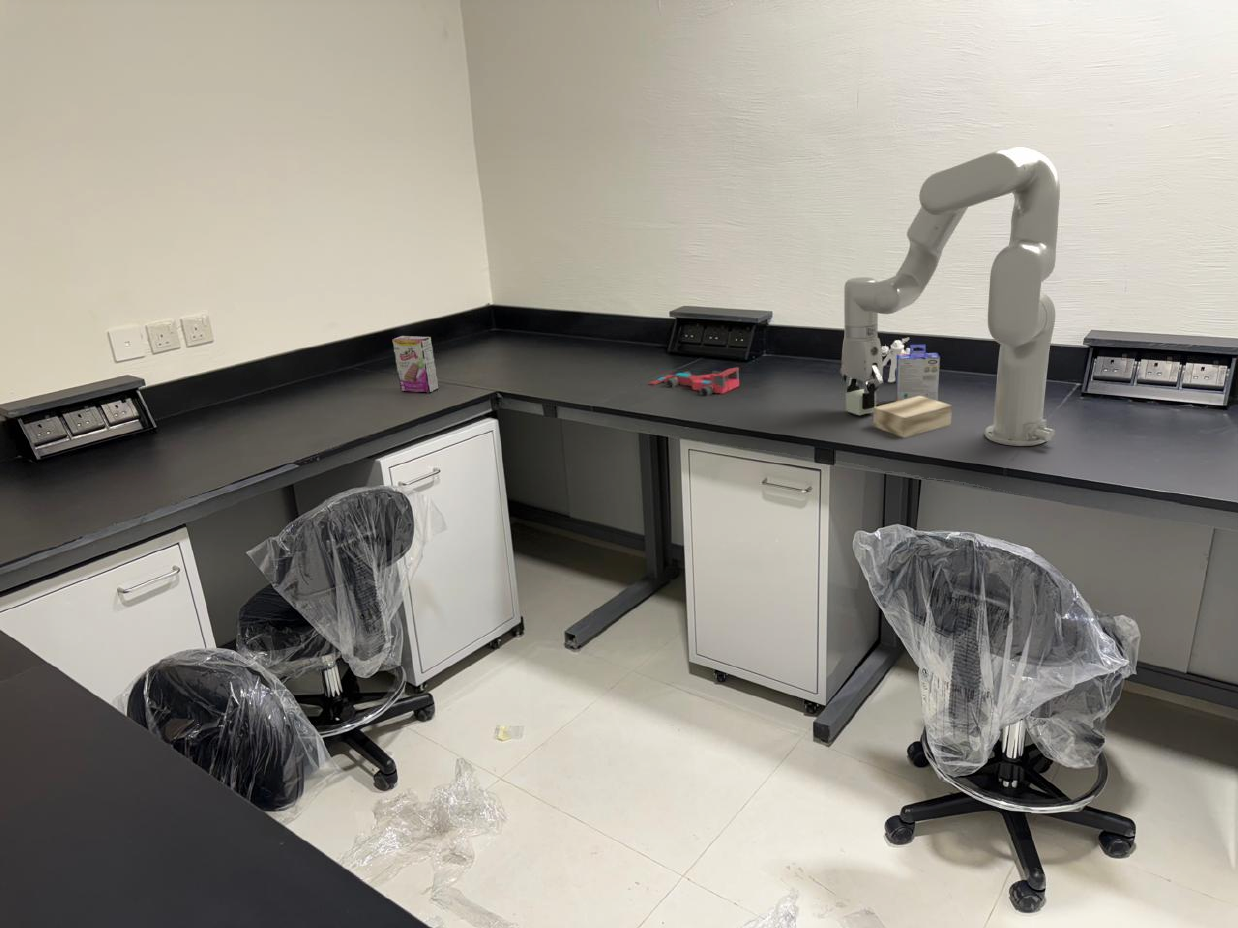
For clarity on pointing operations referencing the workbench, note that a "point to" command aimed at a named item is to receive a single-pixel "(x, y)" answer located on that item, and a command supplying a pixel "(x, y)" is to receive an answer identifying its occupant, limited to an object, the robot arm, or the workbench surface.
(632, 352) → the workbench surface
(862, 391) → the sage cube
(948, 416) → the maple block
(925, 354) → the ink cartridge box
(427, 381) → the candy bar box
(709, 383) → the race car
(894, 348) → the hat wearing toy figure
